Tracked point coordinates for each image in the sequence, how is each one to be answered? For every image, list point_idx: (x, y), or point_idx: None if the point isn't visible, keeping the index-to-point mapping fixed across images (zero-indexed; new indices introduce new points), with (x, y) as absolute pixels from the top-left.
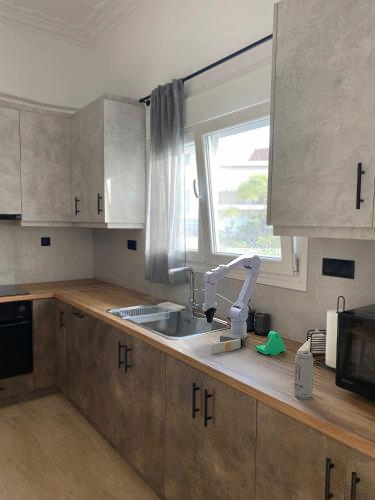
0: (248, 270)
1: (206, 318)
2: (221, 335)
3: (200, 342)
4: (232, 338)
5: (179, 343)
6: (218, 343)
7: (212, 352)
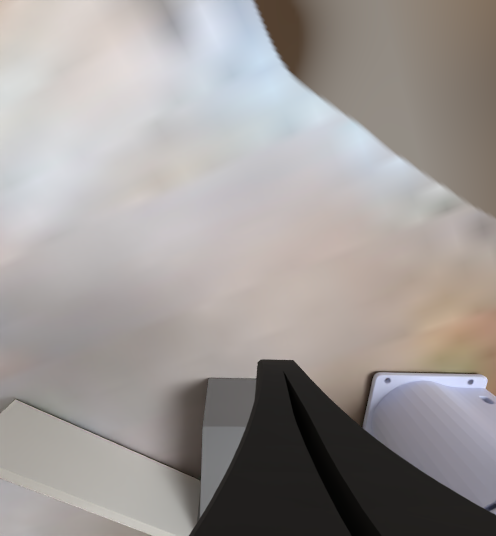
0: None
1: (256, 394)
2: (217, 432)
3: (194, 252)
4: (201, 499)
5: (77, 108)
6: (7, 480)
7: (7, 409)
